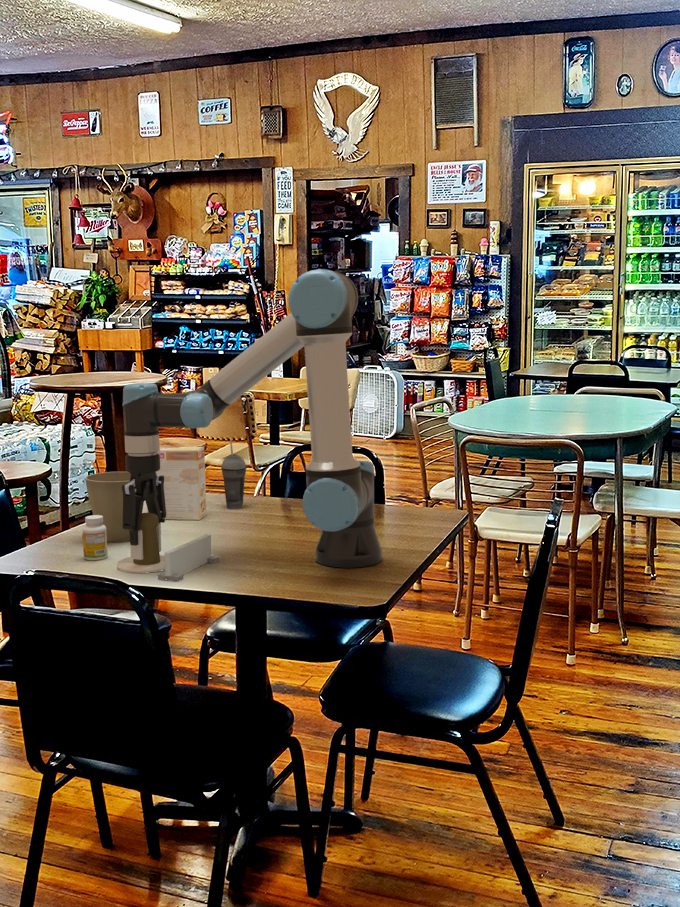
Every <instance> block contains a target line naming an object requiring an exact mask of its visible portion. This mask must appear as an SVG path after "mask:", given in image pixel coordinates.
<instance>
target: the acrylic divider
mask: <svg viewBox="0 0 680 907" xmlns="http://www.w3.org/2000/svg"><path fill="white" fill-rule="evenodd" d="M212 554H213V553H212V534H207V533H206V534H204V535H202V536H200V537H197V538H195V539H193V540H191V541H188V542H186V543H183V544H182V545H179V546H176V547H173V548H172V549H170V550H168V551H165V552H164V555H165V572H160V573H159V574H157V580H158V579H167V580H166V581H168V580H173V581H172V582H177V581H179V580H181V581H183V580H184V575H185V574H187V573H189V572H191V571H193V570H195V569H197V568H199V567H200V565H201V566H203V565H206V564H207V563H209V562H210V563H211V564H216V563H218V562H219V561H220V556H216V555H215V556H214V555H212ZM206 562H207V563H206ZM182 579H183V580H182ZM179 582H180V581H179Z"/></svg>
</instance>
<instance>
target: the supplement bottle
mask: <svg viewBox="0 0 680 907" xmlns="http://www.w3.org/2000/svg"><path fill="white" fill-rule="evenodd" d="M84 522H85V524H86V525H84V526H83V528H82V546H83V547H82V549H83V558H84V559H85V560H87V561H100V560H104V559H107V558H108V556H109V555H108V554H109V553H108V541H107V530H106V526H105V525H102V523H103V516H101V515H93V514H92V515H87V516H85V517H84Z"/></svg>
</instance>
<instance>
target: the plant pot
mask: <svg viewBox="0 0 680 907" xmlns="http://www.w3.org/2000/svg"><path fill="white" fill-rule="evenodd" d="M130 477H131V474H130V473H129V472H127V471H108V472H107V471H105V472H96V473H92V474H88V475H86V476H85V477H84V481H85V486H86V487H85V488H86V492H87V497H88V502H89V505H90V508H91V512H92V515H101V516H103V523H102V525H105V526H106V530H107V542H109V543H110V542H112V543H113V542H115V543H118V542H119V543H120V542H127V541H130V533H129V530H125V529H123V492H122V485H123V484H126V485H127V484H128V483H130Z"/></svg>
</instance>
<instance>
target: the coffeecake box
mask: <svg viewBox="0 0 680 907" xmlns="http://www.w3.org/2000/svg"><path fill="white" fill-rule="evenodd" d="M157 453H158V454H159V455H160V470H159V471H156V475H159V476H164V495H165V506H166V518H163V519H165V520H178V521H179V520H180V521H181V520H183V521H184V520H185V521H200V520H201V519H203V518H205V517H206V516H207V490H206V487H207V486H206V459H205V458H206V457H205V456H206V455H205V454H206V453H205V446H160V451H159V452H157ZM157 486H158V485H157ZM160 512H161V511H160Z"/></svg>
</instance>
